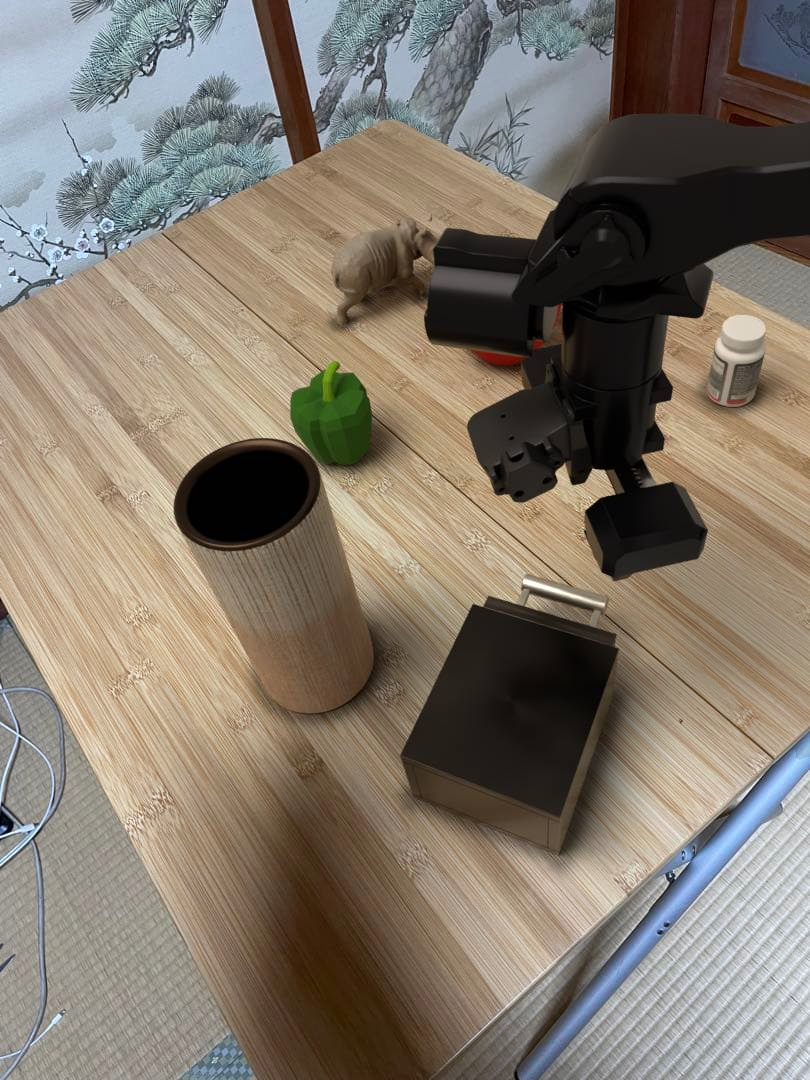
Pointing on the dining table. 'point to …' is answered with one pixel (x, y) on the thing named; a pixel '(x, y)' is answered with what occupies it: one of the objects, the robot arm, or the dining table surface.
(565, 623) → the drawer
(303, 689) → the planter
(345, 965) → the dining table surface
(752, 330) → the pill bottle
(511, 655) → the drawer cabinet
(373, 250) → the rhinoceros figurine
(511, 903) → the dining table surface
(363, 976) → the dining table surface
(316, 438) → the bell pepper
